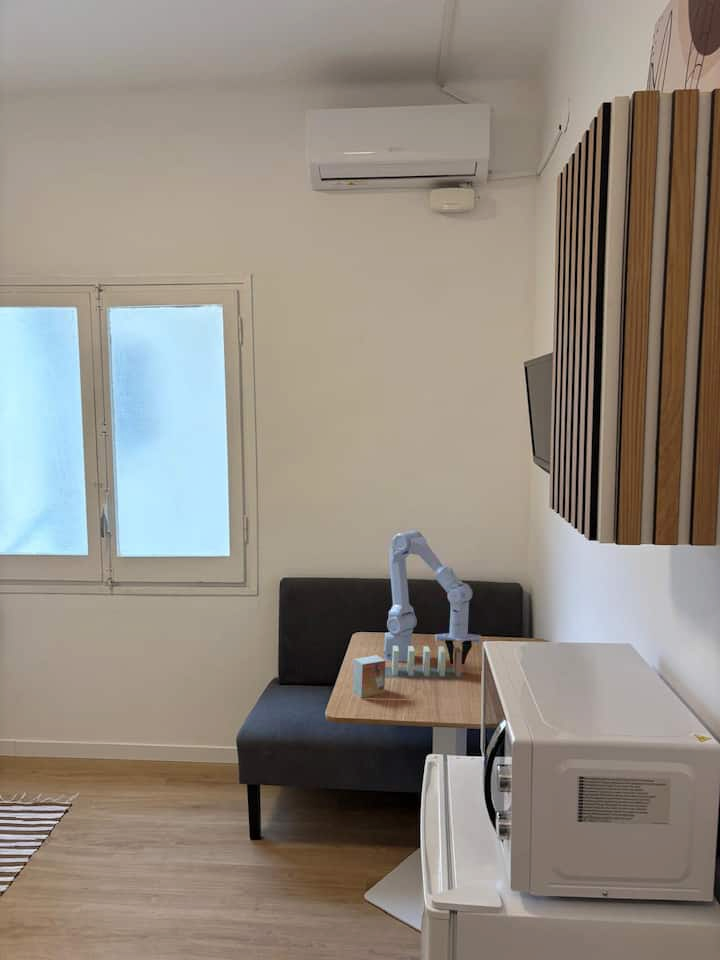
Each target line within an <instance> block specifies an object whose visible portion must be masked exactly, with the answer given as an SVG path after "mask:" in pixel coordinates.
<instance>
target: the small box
mask: <svg viewBox="0 0 720 960" xmlns="http://www.w3.org/2000/svg"><path fill="white" fill-rule="evenodd" d="M385 667H386V661H385V659H383V658H382V657H381V656H379V655H377V654H375V655H370V656H365V657H355V658H354V659H353V679H352V680H353V683H352V692H354V693H355V694H356V695H357V696H358V697H359V698H360V699H364V698H368V697H374V696H378V695H379V696H380V695H383V694H385V684H386V678H385Z"/></svg>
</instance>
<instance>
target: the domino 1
mask: <svg viewBox="0 0 720 960" xmlns="http://www.w3.org/2000/svg"><path fill="white" fill-rule="evenodd" d="M399 663H400V661H399V649H398V646H393V653H392V661H391V667H392V672H393V675H398V667H399Z"/></svg>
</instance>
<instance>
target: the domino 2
mask: <svg viewBox="0 0 720 960" xmlns="http://www.w3.org/2000/svg"><path fill="white" fill-rule="evenodd" d="M406 663H407V665H406V667H407V671H408V675H409V676H414V668H415V648H414V645H412V646H408V662H406Z"/></svg>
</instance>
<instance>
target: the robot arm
mask: <svg viewBox="0 0 720 960" xmlns="http://www.w3.org/2000/svg"><path fill="white" fill-rule="evenodd" d="M390 541H391V545H390V550H389V553H388V560H389V571H390V572H389V573H390V574H389V575H390V583H391V597H392V606H391V609H390V610H388V619H387V621H386V627H387V629H388V632H384V648H383V655H384V660H385V662H392V653H393V646H398V649H399V662H402V663H403V662H406V663H408V646H413V645H412V643H413V632H414V628H415V627H416V626H417V625H418V624H417V622H418V621H417V617H416V615H415V610H414V607H413V606H412V605H411V604H410V599H409V598H410V597H409V588H408V587H409V585H408V576H407V565H406V564H407V563H406V559H407V557H408V556H409V555H414V556H415V555H417V556H419V557H420V559H422V560H423V561H424V562H425V563H426V564H427V565H428V566H429V568H430V569H431V570H432V571H433V572H434V578H435V580H436V581H437V582H438V584H440V586H441V587H442V588H443V589H444V590H445V592H446V593H447V600H448V601H449V604H450V606H449V607H450V613H449V614H450V616H449V617H450V618H449V632H447V633H436V634H435V642H436V643H439V642H444V643H445V646H446V648H447V652H448V657H449V663H450V665H453V664H454V647H455V645H454V642H458V643H459V642H460V643H461V652H462V661H461V666H462V665H465V664H466V663H465V662H466V659H467V657H468V655H469V652H470V650H471V649H472V647H473V644H472V643H479V644H481V643H482V636H481V634H472V633H468V631H469V630H468V629H469V608H470V601H471V599H472V598H473V595H474V594H473V589H472V588H471V586H470V585H469V584H468V583H464V582H463V581H462V580H460V578H459V577H458V576H457V575H456V574H455V573H454V569H453V568H452V567H449V566H447V565H446V566H445V565H443V564H442V562H441V561H440V559H439V558H438V557H437V555H436V554H435V552H434V551H433V550H432V548H431V547H430V546H429V545H428V542H427V539H426V537H425V536H423V535H422V532H420V531H419V530H417V529H413V530H411V531H406V532H399V533H397V534H395V535H394V536H393V537H392V539H391V540H390Z"/></svg>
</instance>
